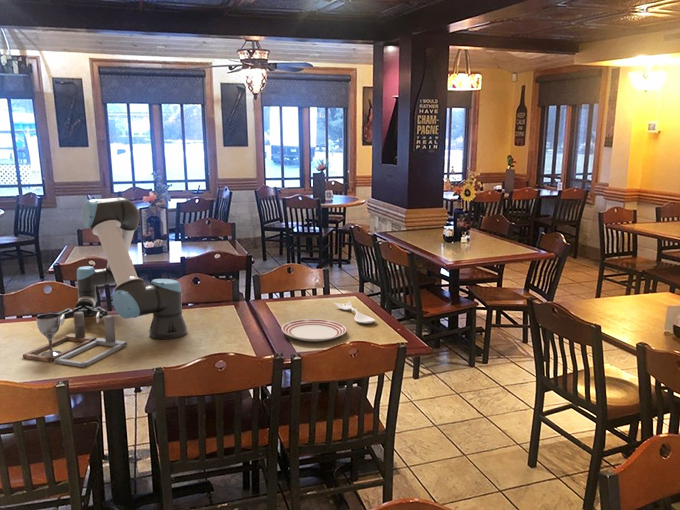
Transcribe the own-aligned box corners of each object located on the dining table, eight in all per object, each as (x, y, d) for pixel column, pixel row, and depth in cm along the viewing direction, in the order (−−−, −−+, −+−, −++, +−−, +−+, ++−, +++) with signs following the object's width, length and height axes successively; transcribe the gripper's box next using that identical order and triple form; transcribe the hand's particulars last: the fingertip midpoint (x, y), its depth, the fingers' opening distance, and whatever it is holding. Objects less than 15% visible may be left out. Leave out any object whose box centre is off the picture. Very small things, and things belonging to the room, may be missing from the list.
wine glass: (47, 359, 216) (44, 320, 213) (35, 354, 220) (31, 316, 217) (67, 352, 222) (64, 315, 219) (55, 348, 226) (51, 311, 223)
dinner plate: (316, 320, 267) (316, 313, 266) (359, 335, 248) (359, 328, 247) (268, 334, 248) (268, 326, 247) (311, 351, 229) (311, 343, 228)
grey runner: (127, 344, 231) (125, 317, 229) (84, 367, 208) (81, 336, 206) (100, 341, 235) (98, 313, 233) (54, 362, 212) (51, 332, 210)
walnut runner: (97, 340, 235) (95, 313, 233) (51, 362, 213) (48, 332, 210) (70, 336, 239) (68, 309, 237) (22, 357, 216) (19, 328, 214)
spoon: (349, 306, 290) (350, 299, 290) (378, 325, 262) (379, 318, 261) (333, 308, 287) (333, 301, 286) (360, 327, 258) (360, 320, 257)
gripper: (115, 312, 263) (112, 327, 243) (55, 316, 255) (46, 332, 236) (114, 296, 261) (111, 309, 241) (53, 300, 254) (45, 314, 234)
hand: (79, 321), depth 238 cm, fingers open, 13 cm apart
